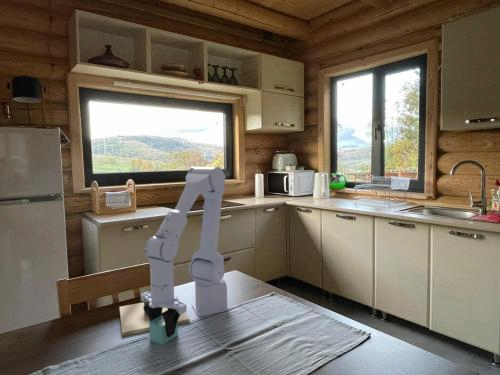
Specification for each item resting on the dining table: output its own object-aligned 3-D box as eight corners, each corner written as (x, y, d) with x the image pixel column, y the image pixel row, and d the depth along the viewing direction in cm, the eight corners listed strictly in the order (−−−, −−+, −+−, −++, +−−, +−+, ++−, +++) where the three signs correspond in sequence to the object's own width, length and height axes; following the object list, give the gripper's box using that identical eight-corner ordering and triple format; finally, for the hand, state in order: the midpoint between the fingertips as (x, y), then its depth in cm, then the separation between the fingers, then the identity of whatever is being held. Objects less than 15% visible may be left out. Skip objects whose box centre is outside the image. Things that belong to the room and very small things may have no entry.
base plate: (178, 299, 109) (177, 284, 109) (189, 322, 95) (189, 305, 94) (119, 309, 102) (118, 294, 102) (122, 336, 88) (121, 318, 87)
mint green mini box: (165, 330, 91) (165, 312, 90) (177, 334, 88) (177, 316, 88) (149, 340, 86) (149, 321, 85) (162, 345, 84) (161, 326, 83)
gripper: (130, 282, 86) (132, 331, 87) (171, 294, 78) (173, 348, 80) (151, 273, 92) (153, 320, 93) (191, 284, 84) (192, 334, 86)
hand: (163, 332), depth 87 cm, fingers closed on mint green mini box, 4 cm apart
